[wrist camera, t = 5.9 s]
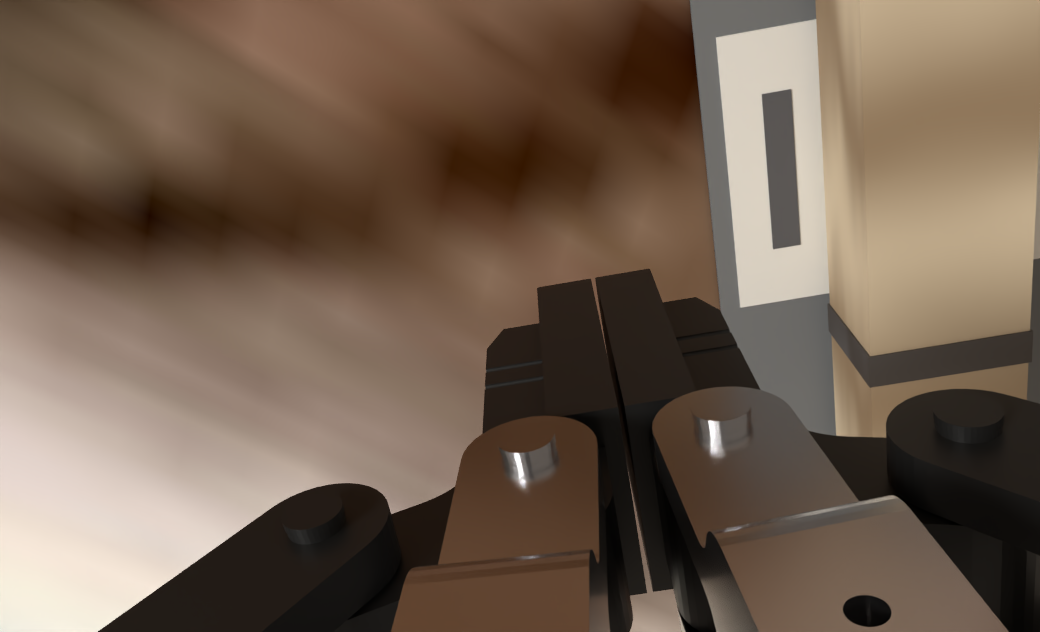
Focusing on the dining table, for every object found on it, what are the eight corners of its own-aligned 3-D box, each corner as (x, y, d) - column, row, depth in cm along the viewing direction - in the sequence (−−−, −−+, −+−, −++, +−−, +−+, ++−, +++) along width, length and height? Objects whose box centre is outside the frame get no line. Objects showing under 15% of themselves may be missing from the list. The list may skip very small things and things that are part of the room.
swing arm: (760, -643, 17) (831, -790, 13) (1011, -700, 17) (1154, -866, 13) (821, 448, 26) (872, 539, 23) (982, 423, 26) (1060, 511, 22)
